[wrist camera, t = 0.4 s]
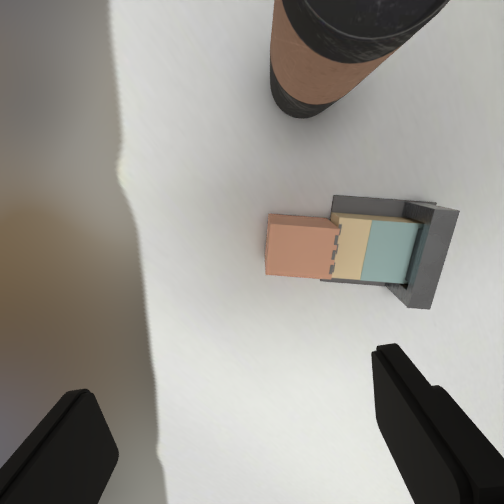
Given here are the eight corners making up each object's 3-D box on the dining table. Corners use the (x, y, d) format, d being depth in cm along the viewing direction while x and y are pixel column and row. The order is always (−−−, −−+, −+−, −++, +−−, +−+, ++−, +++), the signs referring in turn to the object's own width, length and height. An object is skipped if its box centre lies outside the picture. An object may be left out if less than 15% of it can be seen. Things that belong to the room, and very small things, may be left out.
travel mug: (354, 89, 29) (532, -58, 10) (294, 136, 30) (348, 88, 11) (314, 20, 27) (437, -318, 8) (253, 74, 29) (237, -104, 10)
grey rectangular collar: (425, 202, 32) (459, 210, 26) (403, 286, 35) (429, 309, 30) (404, 201, 32) (434, 208, 26) (384, 285, 35) (407, 307, 30)
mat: (435, 202, 32) (436, 202, 32) (412, 287, 36) (413, 288, 35) (333, 195, 32) (334, 195, 32) (320, 280, 36) (320, 281, 35)
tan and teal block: (423, 219, 32) (442, 225, 29) (409, 273, 35) (425, 285, 31) (331, 212, 33) (339, 217, 29) (323, 266, 35) (329, 277, 31)
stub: (326, 218, 33) (340, 229, 27) (319, 260, 35) (331, 279, 29) (268, 213, 33) (270, 224, 27) (264, 256, 35) (265, 274, 29)
